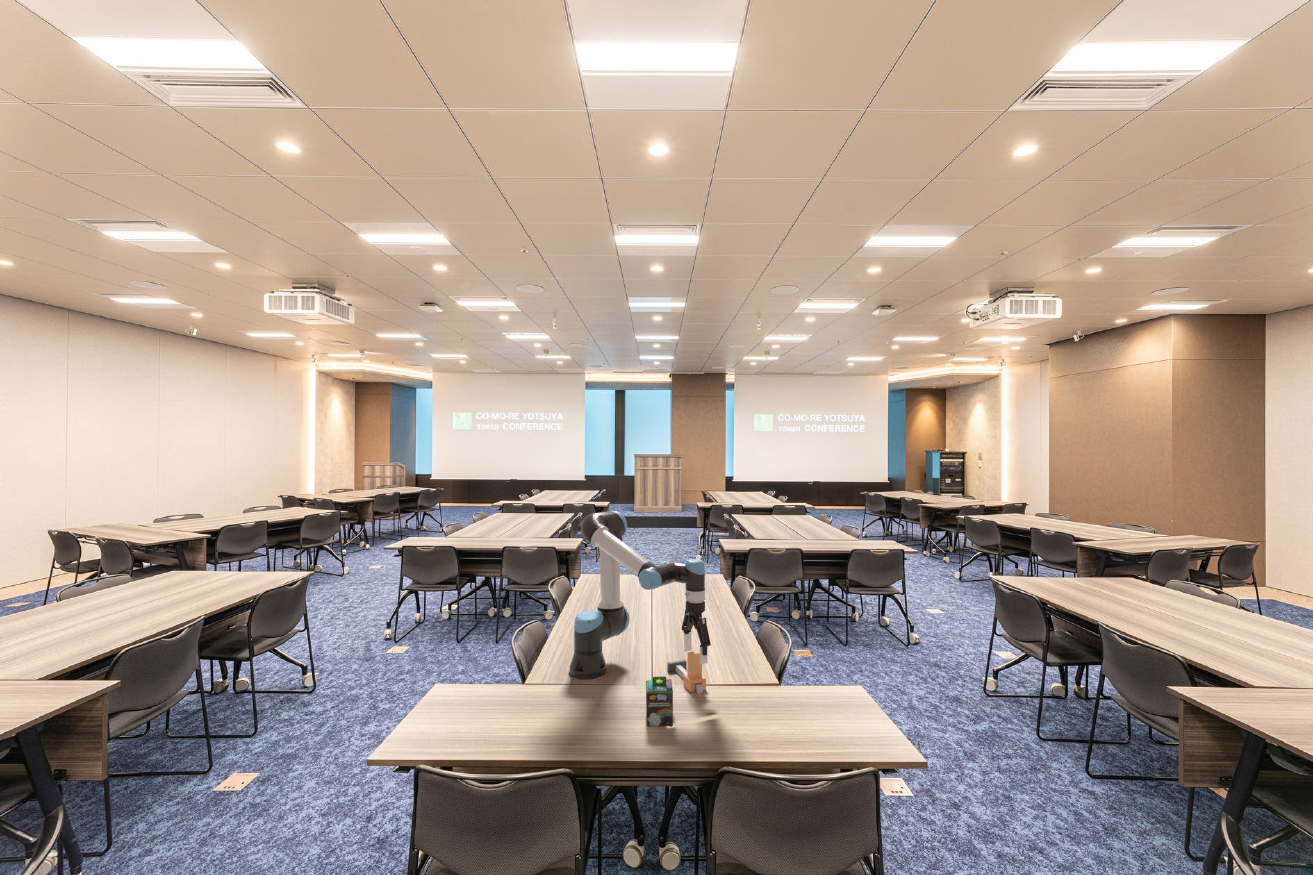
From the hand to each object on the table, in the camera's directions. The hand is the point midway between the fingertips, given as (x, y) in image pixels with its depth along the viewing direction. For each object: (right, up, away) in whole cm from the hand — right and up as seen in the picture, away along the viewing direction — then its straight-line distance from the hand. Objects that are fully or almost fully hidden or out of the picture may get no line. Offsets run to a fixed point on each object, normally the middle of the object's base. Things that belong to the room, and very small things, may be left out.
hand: (695, 656), depth 189 cm
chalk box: (-14, -12, -22) cm, 28 cm away
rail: (-3, -13, +5) cm, 14 cm away
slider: (0, -12, 0) cm, 12 cm away
